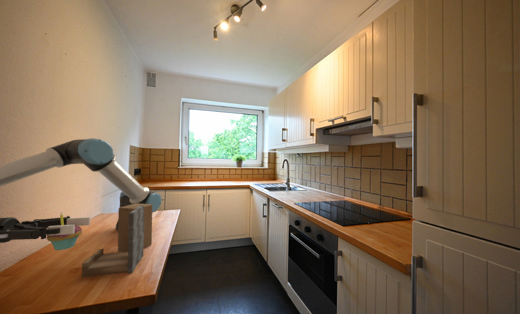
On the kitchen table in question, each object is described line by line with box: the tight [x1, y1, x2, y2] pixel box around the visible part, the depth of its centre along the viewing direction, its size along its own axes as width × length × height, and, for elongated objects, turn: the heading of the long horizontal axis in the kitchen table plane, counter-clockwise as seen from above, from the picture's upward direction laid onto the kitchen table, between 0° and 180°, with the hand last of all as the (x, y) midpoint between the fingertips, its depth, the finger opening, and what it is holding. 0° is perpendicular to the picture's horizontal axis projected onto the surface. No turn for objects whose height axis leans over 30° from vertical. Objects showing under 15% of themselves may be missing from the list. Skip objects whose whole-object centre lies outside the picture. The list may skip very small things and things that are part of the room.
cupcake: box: [46, 212, 83, 251], centre depth 67 cm, size 9×8×12 cm
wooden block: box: [117, 204, 153, 252], centre depth 96 cm, size 10×10×20 cm
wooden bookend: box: [81, 205, 144, 279], centre depth 79 cm, size 14×16×22 cm
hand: (82, 224), depth 68 cm, fingers closed on cupcake, 8 cm apart
